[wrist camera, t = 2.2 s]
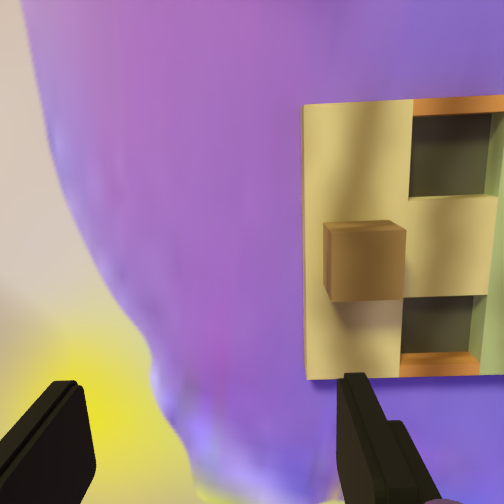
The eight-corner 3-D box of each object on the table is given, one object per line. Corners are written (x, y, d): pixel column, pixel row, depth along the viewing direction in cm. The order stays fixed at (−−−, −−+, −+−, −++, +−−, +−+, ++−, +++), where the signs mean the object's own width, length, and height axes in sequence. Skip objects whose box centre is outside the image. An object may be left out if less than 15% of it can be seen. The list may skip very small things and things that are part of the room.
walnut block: (388, 219, 28) (406, 229, 24) (386, 281, 29) (403, 299, 25) (323, 222, 28) (331, 232, 24) (323, 284, 29) (331, 302, 26)
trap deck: (597, 92, 27) (653, 83, 23) (554, 358, 32) (594, 387, 28) (300, 107, 28) (306, 101, 24) (304, 366, 33) (310, 395, 29)
